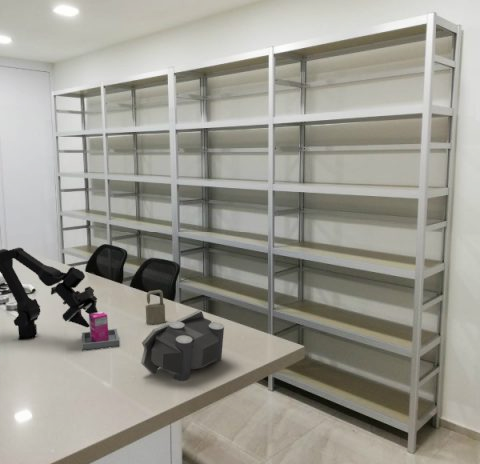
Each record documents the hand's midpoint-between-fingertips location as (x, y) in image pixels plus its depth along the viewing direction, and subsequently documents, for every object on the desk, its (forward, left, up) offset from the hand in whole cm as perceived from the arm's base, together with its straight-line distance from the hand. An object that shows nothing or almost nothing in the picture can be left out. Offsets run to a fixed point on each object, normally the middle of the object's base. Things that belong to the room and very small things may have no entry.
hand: (94, 323), depth 205 cm
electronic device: (+30, -36, -8) cm, 48 cm away
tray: (+2, -1, -8) cm, 8 cm away
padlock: (+27, +16, -8) cm, 32 cm away
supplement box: (+2, -1, -8) cm, 8 cm away
